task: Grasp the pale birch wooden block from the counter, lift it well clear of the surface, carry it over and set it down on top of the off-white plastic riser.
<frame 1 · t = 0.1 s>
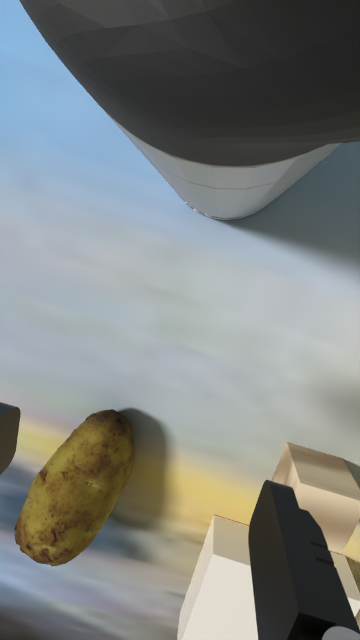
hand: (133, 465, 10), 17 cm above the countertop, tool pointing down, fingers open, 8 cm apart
birch block: (304, 472, 28), on the countertop
potato: (99, 455, 31), on the countertop
riser: (256, 586, 32), on the countertop
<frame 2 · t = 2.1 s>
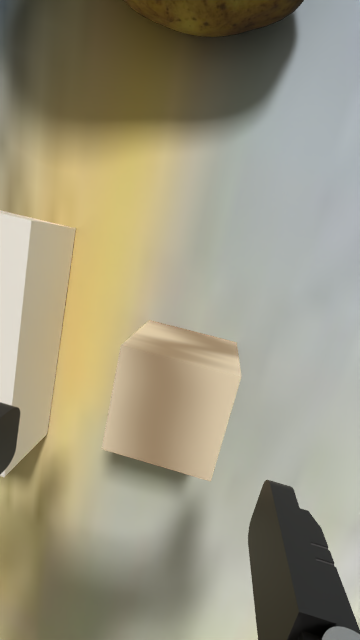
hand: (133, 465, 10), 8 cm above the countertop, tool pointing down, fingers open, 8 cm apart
birch block: (182, 371, 18), on the countertop
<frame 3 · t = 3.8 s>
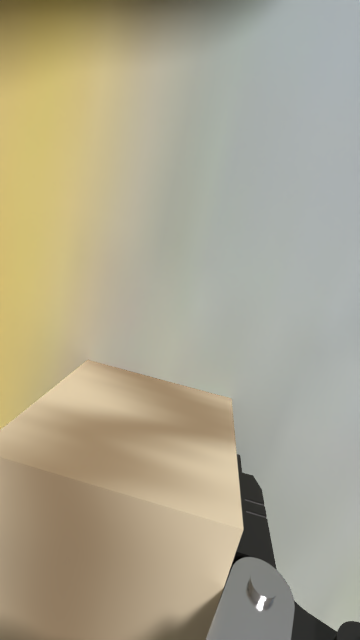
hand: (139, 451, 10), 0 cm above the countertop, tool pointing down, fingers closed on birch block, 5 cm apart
birch block: (143, 443, 11), on the countertop, touching gripper
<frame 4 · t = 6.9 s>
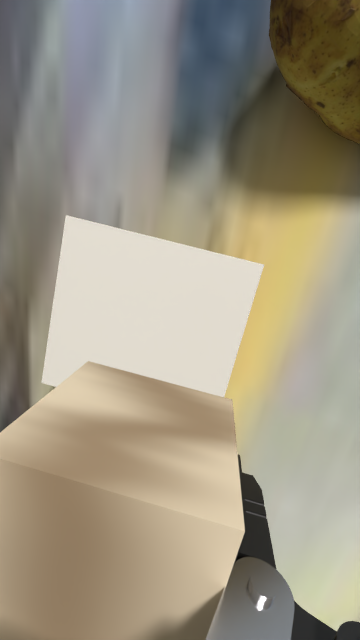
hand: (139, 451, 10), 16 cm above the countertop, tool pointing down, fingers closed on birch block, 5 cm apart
birch block: (144, 444, 11), point 16 cm above the countertop, touching gripper
potato: (348, 92, 21), on the countertop
riser: (154, 318, 26), on the countertop
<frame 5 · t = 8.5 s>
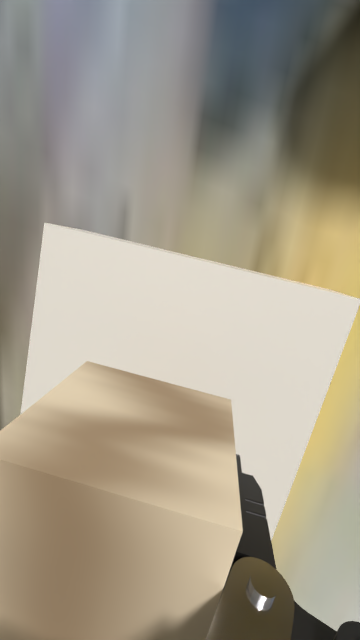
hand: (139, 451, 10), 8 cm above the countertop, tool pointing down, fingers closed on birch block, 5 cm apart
birch block: (143, 444, 11), point 8 cm above the countertop, touching gripper
riser: (175, 365, 19), on the countertop
when the fingers open (6 cm above the countertop, at t = 9.9 s): birch block drops 1 cm, resting on riser.
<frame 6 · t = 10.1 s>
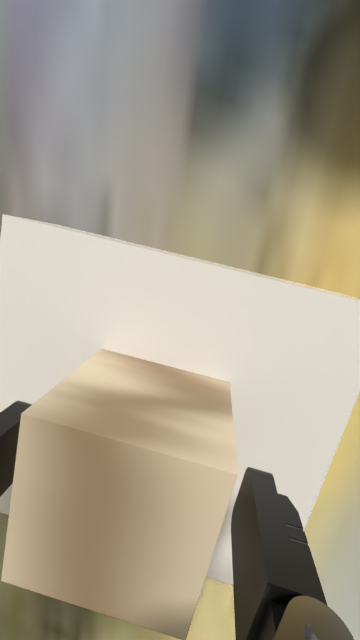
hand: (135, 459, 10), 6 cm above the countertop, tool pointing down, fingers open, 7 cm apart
birch block: (151, 422, 12), point 4 cm above the countertop, touching riser
riser: (167, 382, 16), on the countertop
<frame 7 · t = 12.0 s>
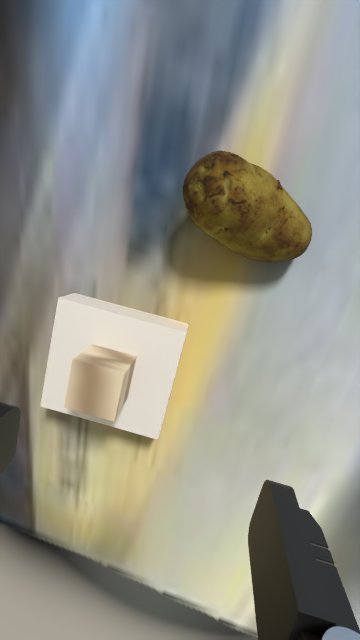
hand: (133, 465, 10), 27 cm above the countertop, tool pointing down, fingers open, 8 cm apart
birch block: (110, 371, 34), point 4 cm above the countertop, touching riser
potato: (242, 220, 33), on the countertop
riser: (120, 359, 38), on the countertop
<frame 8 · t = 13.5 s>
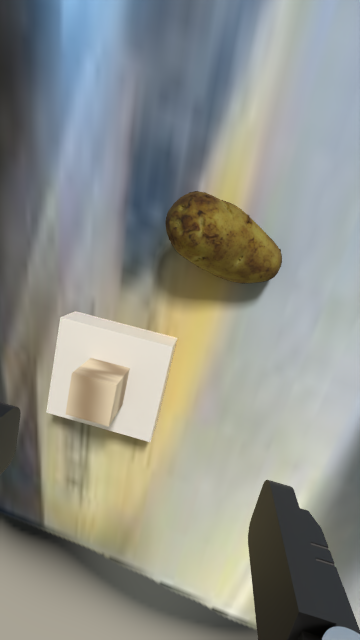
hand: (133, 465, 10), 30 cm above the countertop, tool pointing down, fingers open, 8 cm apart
birch block: (106, 381, 38), point 4 cm above the countertop, touching riser
potato: (223, 245, 37), on the countertop
riser: (116, 369, 42), on the countertop
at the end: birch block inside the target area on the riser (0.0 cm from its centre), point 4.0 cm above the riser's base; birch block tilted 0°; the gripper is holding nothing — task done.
